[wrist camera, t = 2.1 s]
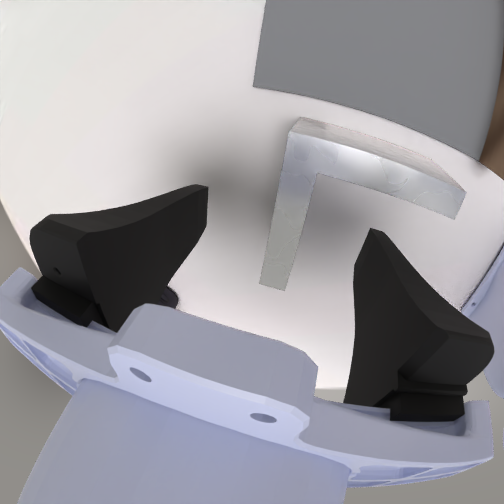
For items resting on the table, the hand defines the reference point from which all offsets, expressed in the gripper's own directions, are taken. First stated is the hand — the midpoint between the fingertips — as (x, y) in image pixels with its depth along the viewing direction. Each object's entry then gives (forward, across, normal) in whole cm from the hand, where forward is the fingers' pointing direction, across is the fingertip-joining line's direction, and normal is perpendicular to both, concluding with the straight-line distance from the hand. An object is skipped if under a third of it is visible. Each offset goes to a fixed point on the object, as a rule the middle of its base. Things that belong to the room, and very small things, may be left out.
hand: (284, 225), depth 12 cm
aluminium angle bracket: (+5, -3, 0) cm, 6 cm away
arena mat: (+5, -4, -14) cm, 16 cm away
